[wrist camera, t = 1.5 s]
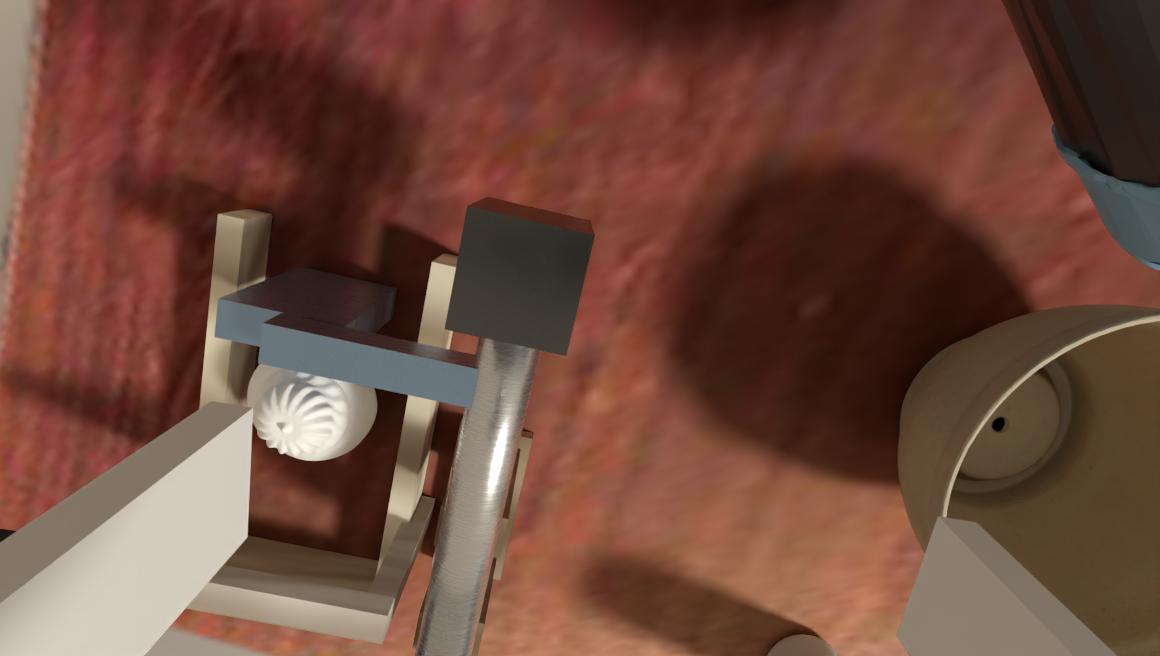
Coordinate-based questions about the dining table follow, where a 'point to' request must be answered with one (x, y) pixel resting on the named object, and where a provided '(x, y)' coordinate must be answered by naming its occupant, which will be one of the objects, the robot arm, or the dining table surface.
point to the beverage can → (802, 647)
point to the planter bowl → (1051, 457)
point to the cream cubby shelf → (503, 532)
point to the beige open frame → (297, 573)
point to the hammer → (441, 370)
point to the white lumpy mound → (309, 412)
